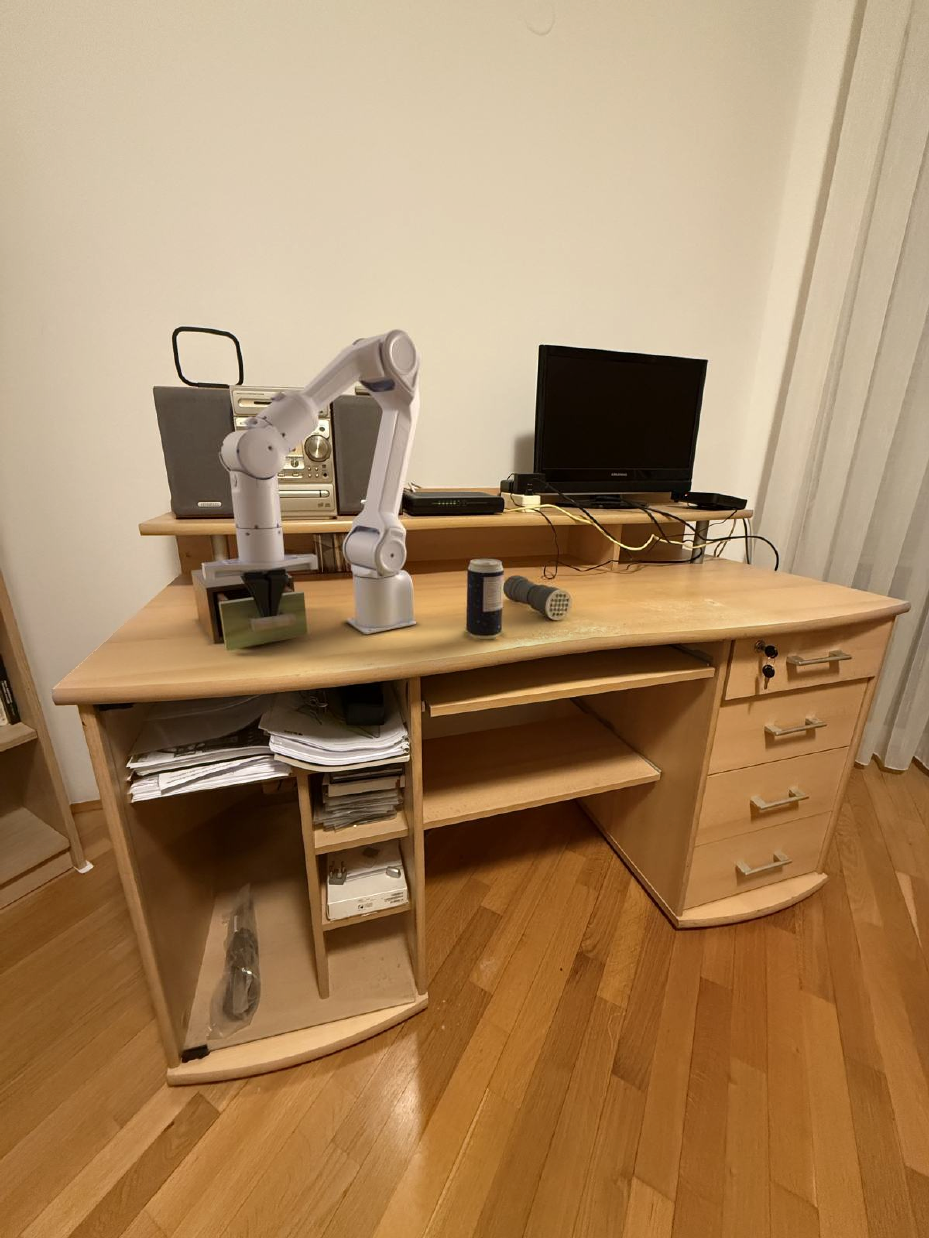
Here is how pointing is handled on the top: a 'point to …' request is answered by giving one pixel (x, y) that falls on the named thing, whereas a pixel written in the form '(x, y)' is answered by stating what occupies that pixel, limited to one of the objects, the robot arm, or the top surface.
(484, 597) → the beverage can
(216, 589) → the cabinet
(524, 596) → the flashlight
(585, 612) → the top surface
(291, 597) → the drawer
